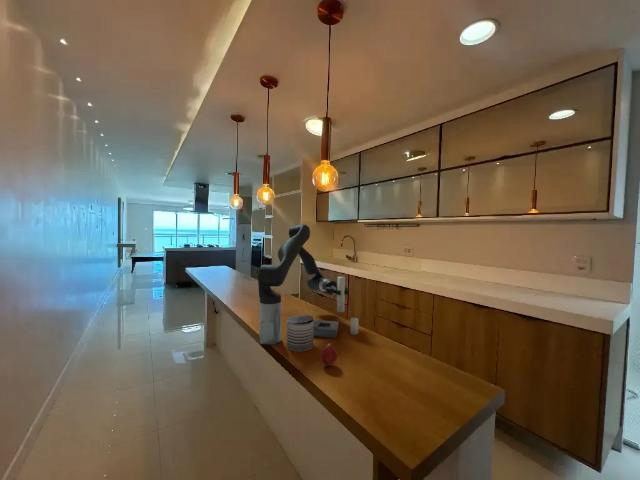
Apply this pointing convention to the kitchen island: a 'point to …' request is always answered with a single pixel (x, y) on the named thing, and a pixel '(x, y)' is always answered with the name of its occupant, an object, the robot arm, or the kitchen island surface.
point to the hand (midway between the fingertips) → (343, 292)
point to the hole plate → (325, 328)
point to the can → (300, 332)
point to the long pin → (341, 297)
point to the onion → (328, 355)
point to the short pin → (354, 326)
